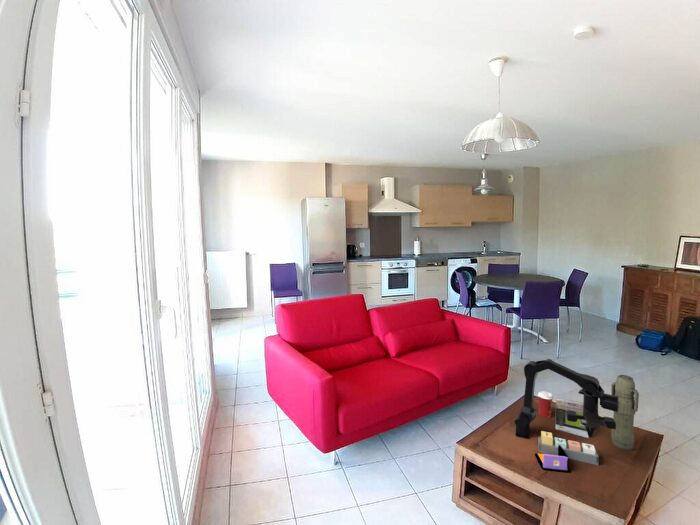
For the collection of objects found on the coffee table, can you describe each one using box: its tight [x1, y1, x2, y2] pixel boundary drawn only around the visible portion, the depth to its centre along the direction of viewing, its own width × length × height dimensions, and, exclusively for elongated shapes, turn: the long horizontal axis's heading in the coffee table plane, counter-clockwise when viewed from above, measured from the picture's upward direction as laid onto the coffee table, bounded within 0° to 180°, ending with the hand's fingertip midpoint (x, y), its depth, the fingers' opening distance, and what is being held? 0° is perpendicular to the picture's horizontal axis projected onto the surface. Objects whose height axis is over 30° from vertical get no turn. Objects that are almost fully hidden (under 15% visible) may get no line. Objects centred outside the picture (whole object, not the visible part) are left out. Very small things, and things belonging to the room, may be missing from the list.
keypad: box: [537, 435, 600, 466], centre depth 166 cm, size 24×7×4 cm, turn 64°
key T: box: [581, 442, 595, 455], centre depth 162 cm, size 5×5×4 cm
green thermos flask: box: [610, 374, 640, 451], centre depth 172 cm, size 9×12×35 cm
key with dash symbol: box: [567, 439, 581, 452], centre depth 165 cm, size 5×5×4 cm
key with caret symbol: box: [553, 436, 567, 449], centre depth 167 cm, size 5×5×4 cm
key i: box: [540, 430, 554, 446], centre depth 169 cm, size 5×5×4 cm
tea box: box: [555, 397, 590, 439], centre depth 186 cm, size 15×10×15 cm, turn 58°
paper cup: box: [537, 390, 554, 419], centre depth 199 cm, size 8×8×14 cm
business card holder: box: [534, 445, 572, 474], centre depth 160 cm, size 12×12×7 cm
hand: (589, 436), depth 161 cm, fingers closed
